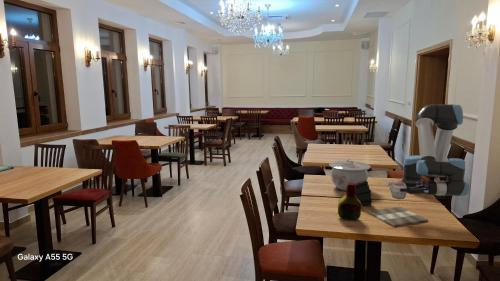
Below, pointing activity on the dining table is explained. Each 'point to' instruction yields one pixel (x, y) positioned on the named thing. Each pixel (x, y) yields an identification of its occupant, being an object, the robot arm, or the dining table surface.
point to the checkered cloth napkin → (397, 216)
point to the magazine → (363, 193)
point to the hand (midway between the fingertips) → (390, 186)
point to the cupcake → (398, 194)
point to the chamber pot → (348, 173)
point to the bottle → (349, 204)
